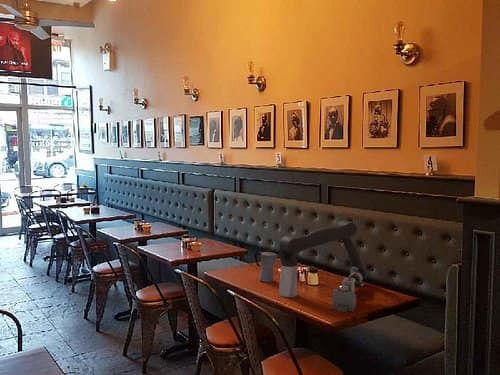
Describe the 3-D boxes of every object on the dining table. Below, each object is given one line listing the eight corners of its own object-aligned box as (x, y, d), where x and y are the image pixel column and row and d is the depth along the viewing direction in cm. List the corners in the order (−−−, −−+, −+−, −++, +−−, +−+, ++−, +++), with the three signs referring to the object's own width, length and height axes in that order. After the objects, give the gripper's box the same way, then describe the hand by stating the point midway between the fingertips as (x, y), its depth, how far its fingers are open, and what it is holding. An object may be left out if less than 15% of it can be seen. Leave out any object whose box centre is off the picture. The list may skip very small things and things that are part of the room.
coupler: (331, 310, 240) (332, 286, 240) (336, 303, 252) (337, 280, 251) (352, 312, 237) (352, 288, 236) (355, 305, 248) (356, 282, 248)
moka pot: (277, 283, 290) (277, 251, 288) (252, 282, 292) (253, 250, 291) (278, 279, 299) (279, 248, 298) (254, 278, 302) (255, 247, 300)
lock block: (341, 303, 252) (342, 280, 251) (344, 298, 262) (345, 276, 261) (351, 304, 250) (351, 281, 250) (354, 299, 260) (354, 277, 259)
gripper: (343, 272, 279) (338, 279, 263) (366, 274, 274) (362, 281, 258) (343, 284, 280) (337, 292, 263) (365, 287, 275) (361, 295, 259)
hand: (349, 287), depth 261 cm, fingers closed
